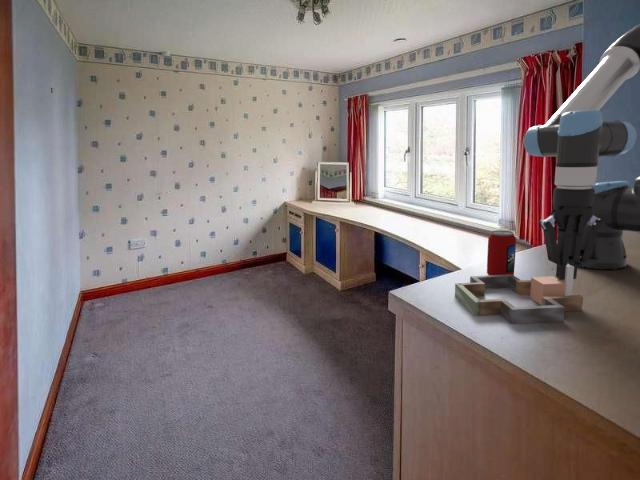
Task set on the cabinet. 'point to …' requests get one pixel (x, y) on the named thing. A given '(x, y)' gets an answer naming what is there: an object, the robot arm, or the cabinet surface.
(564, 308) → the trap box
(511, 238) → the beverage can
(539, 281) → the block
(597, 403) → the cabinet surface
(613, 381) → the cabinet surface
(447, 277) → the cabinet surface
